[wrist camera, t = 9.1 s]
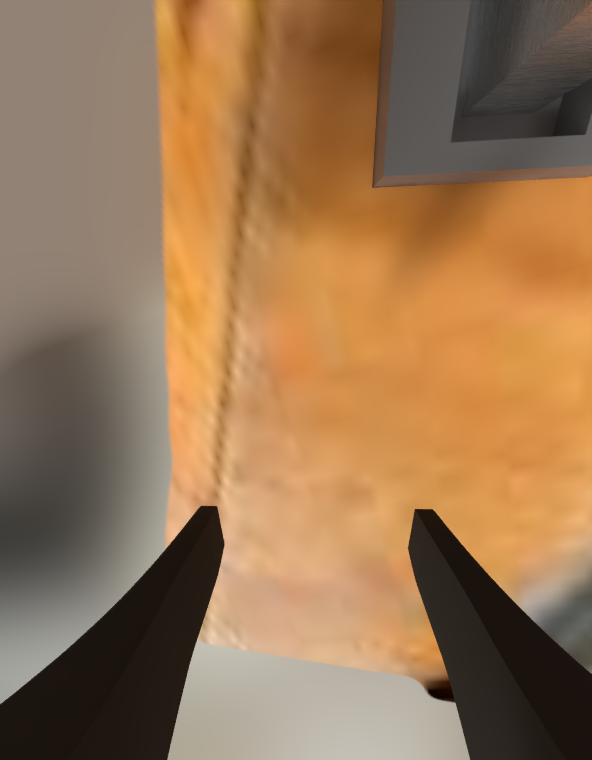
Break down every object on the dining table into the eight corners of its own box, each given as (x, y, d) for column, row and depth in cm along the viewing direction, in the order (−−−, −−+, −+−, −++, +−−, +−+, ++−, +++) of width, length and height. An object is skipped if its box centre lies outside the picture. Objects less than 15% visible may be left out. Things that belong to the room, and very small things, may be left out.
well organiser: (700, -185, 10) (819, -317, 7) (589, 176, 14) (643, 162, 12) (392, -149, 10) (415, -261, 8) (372, 187, 14) (383, 176, 12)
